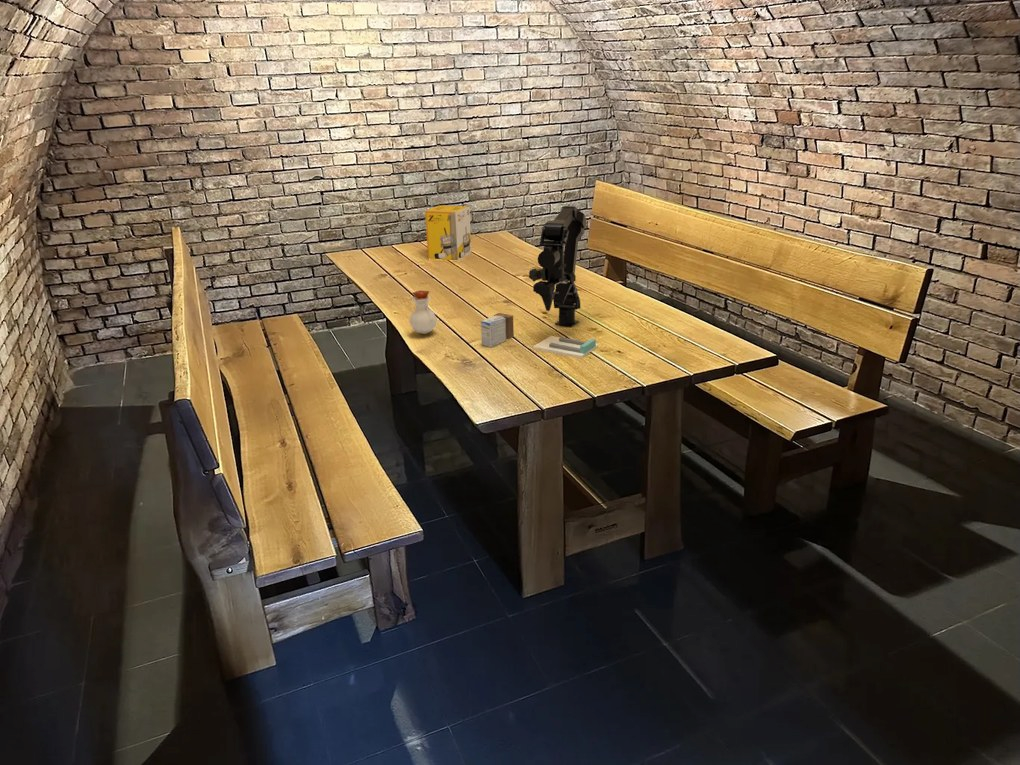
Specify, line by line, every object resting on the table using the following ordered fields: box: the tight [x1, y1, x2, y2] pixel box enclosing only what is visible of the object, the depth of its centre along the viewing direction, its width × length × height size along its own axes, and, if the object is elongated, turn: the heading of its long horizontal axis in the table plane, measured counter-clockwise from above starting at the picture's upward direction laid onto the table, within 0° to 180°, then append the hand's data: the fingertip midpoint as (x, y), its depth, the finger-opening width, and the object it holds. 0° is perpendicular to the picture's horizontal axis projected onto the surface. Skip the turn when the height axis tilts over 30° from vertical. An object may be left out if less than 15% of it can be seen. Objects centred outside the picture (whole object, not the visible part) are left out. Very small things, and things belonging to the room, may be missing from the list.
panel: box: [493, 312, 515, 340], centre depth 252 cm, size 3×8×6 cm
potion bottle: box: [409, 290, 437, 335], centre depth 256 cm, size 9×10×15 cm
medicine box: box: [480, 315, 507, 348], centre depth 247 cm, size 8×4×9 cm, turn 141°
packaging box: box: [424, 205, 472, 260], centre depth 359 cm, size 16×16×25 cm
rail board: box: [532, 335, 599, 359], centre depth 241 cm, size 12×18×4 cm, turn 57°
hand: (554, 307), depth 244 cm, fingers open, 9 cm apart
